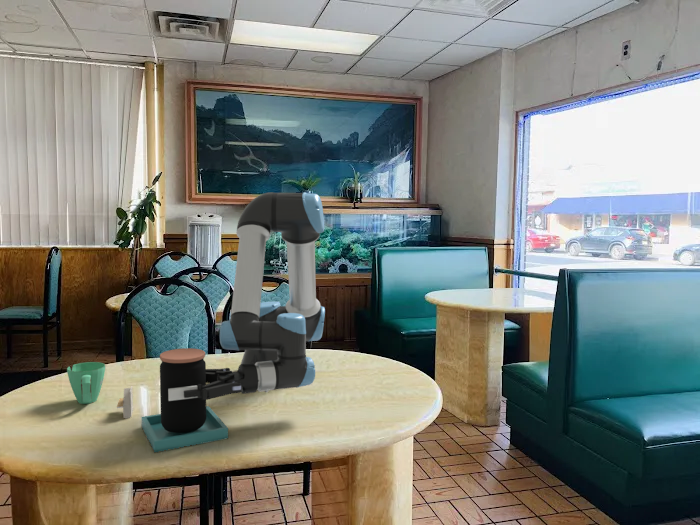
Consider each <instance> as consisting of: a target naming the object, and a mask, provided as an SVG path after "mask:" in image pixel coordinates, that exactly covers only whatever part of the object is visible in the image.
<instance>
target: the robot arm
mask: <svg viewBox="0 0 700 525" xmlns="http://www.w3.org/2000/svg"><path fill="white" fill-rule="evenodd" d="M324 231H325V218H324V209H323V203H322V199H321V197H320V195H318V194H317V193H308V192H304V191H303V192H265V193H262V194H260V195H257V197H254V198H253V199H252V200H251V201H250V202H249V203H248V204H247V205H246V207H245V208H244V209H243V211H242V212H241V214H240V216H239V219H238V221H237V225H236V236H237V238H239V240H238V248H237V255H236V256H237V258H236V267H235V275H234V282H233V284H234V285H233V292H232V299H231V300H232V302H231V311H230V320H229V319H228V320H224V321H222V323H221V325H220V329H219V343H220V346H221V347H222V349H224V350H229V351H244V352H243V356H242V358H241V362H240V364H239V366H238V368H237V371H232V370H231V368H229V367H225V368H224V367H223V368H206V385H203V386H202V384H198V389H197V385H196V386H188V387H179V388H170V389H168V400H169V401H173V400H181V399H189V398H197V397H198V398H202V400H206V401H208V400H212V399H216V398H219V397H220V398H221V397H224V396H229V395H233V394H240V393H241V394H252V393H253V394H254V393H256V392H265V393H268V392H269V391H277V390H283V389H294V388H297V389H298V388H300V387H306V386H310V385H312V384H313V383H314V382H315V379H316V367H315V366H316V365H315V363H314V360H313V359H312V357H310V356H307V354H306V353H307V352H306V351H307V347H306V346H307V344H306V343H307V342H308V343H309V342H313V341H314V342H315V341H316V342H317V341H320V340H321V338H322V337H323V332H324V326H325V324H324V322H325V314H326V309H325V308H326V307H325V306H322V305H321V302H320V301H319V300H318V298H317V292H316V291H317V289H316V285H317V284H316V241H317V240H319V238H320V234H322V233H324ZM271 233H281V234H280V235H281V239H282V240H283V241H284V242H286V252H287V254H286V255H287V270H288V273H287V274H288V290H289V293H288V295H289V299H288V300H287V301H286V303H285V305H284V306H283V305H282V304H281V302H280V301H277V300H276V301H263V302H262V301H261V300H262V294H263V293H262V292H263V291H262V289H263V280H264V268H265V258H266V257H265V255H266V244H267V241H268V240H269V239H270V238H271ZM281 305H282V306H281Z"/></svg>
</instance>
